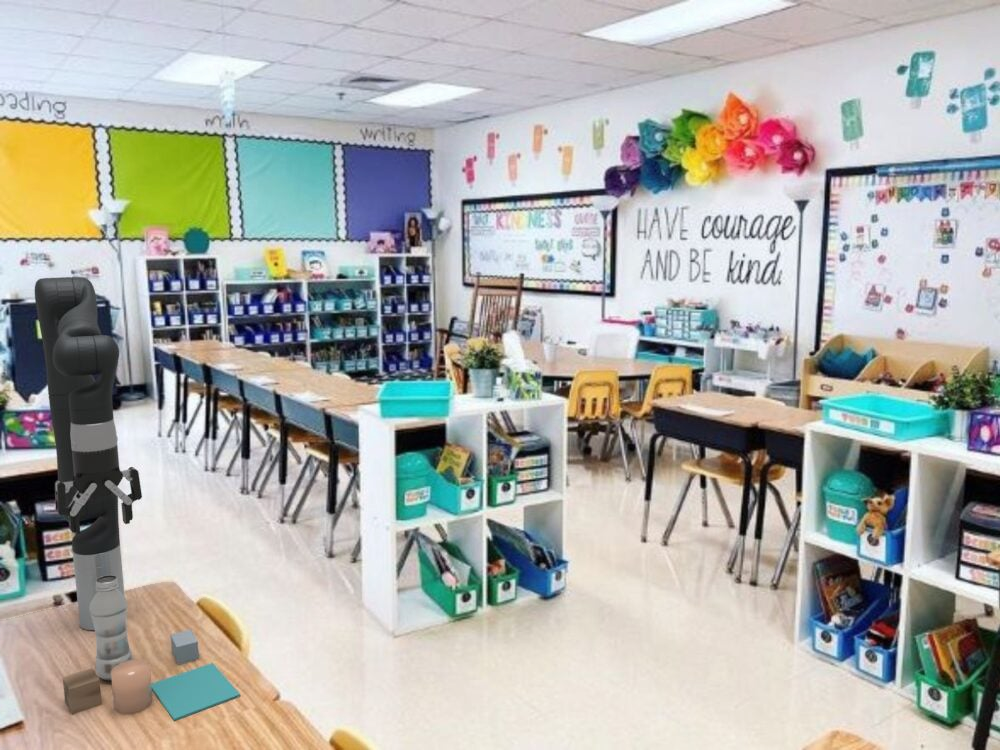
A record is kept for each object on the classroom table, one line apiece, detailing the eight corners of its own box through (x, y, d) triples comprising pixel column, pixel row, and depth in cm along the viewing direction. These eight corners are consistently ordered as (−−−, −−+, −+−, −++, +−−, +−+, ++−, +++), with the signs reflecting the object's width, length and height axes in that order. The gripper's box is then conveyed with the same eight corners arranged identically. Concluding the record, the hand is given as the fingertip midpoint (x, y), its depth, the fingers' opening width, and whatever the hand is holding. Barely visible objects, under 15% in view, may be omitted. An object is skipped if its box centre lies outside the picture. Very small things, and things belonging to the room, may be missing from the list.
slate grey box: (171, 652, 164) (170, 634, 164) (192, 646, 167) (190, 629, 166) (178, 665, 159) (176, 647, 159) (198, 660, 162) (197, 641, 161)
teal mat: (149, 686, 152) (149, 684, 152) (212, 664, 160) (212, 662, 159) (174, 720, 141) (174, 718, 141) (240, 696, 149) (240, 694, 149)
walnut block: (65, 702, 147) (62, 677, 146) (94, 692, 150) (92, 668, 149) (71, 715, 143) (68, 689, 142) (101, 704, 146) (99, 679, 145)
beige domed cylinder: (109, 702, 147) (106, 667, 146) (146, 689, 151) (143, 655, 150) (119, 718, 142) (116, 682, 141) (157, 705, 146) (154, 670, 145)
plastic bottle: (119, 686, 152) (111, 587, 148) (88, 682, 153) (78, 584, 149) (141, 668, 158) (133, 573, 154) (110, 664, 159) (102, 570, 156)
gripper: (129, 434, 154) (136, 514, 157) (46, 446, 145) (55, 531, 148) (141, 442, 149) (148, 525, 152) (55, 455, 140) (64, 543, 143)
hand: (102, 528), depth 150 cm, fingers open, 8 cm apart
